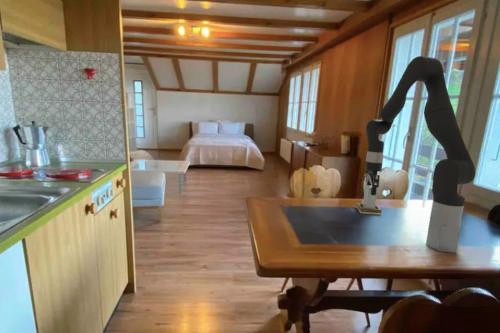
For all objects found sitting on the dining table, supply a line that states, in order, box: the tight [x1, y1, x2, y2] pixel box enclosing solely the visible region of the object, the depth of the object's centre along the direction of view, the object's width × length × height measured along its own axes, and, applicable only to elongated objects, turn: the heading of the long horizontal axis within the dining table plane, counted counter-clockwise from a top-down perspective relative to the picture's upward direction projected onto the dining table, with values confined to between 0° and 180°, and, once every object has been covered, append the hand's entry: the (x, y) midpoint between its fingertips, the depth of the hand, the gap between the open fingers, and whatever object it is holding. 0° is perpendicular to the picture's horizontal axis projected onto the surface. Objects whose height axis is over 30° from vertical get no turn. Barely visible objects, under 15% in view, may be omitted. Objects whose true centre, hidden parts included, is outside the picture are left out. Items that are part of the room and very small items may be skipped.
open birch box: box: [356, 202, 382, 216], centre depth 141 cm, size 9×10×2 cm
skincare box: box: [362, 184, 378, 209], centre depth 140 cm, size 6×4×12 cm
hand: (370, 192), depth 139 cm, fingers open, 8 cm apart
